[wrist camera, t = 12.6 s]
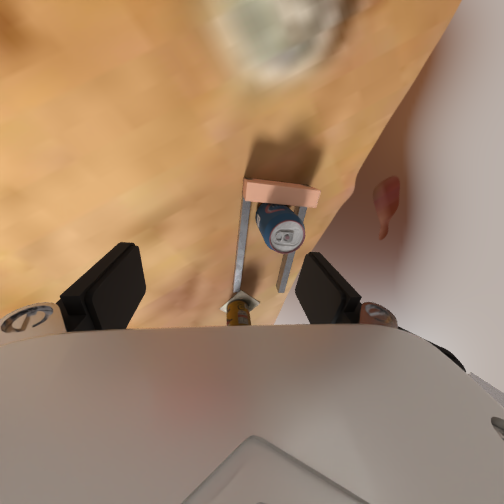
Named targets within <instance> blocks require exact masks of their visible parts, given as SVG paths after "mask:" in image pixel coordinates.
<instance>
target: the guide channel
mask: <svg viewBox="0 0 504 504" xmlns="http://www.w3.org/2000/svg"><path fill="white" fill-rule="evenodd" d="M244 178H245V177H244ZM245 179H248V180H253V179H252V178H245ZM301 185H302V184H301ZM303 186H306V187H311V186H308V185H303ZM242 192H243V190H242ZM250 204H251V201H245V199H244V197H243V194H242V200H241V210H240V220H239V230H238V240H237V250H236V260H235V270H234V280H233V292H240V284H241V276H242V268H243V260H244V252H245V244H246V236H247V228H248V220H249V212H250ZM306 210H307V207H302V206H295V209H294V213H295V214H296V215H297V216H298V217H299V218H300V219H301V220H302V222H303V221H304V217H305V214H306ZM294 254H295V251H294V252H292V253H288V254H284V255H283V259H282V263H281V268H280V272H279V276H278V280H277V284H276V288H277V290H278V293H284V291H285V287H286V284H287V280H288V276H289V273H290V269H291V265H292V262H293V258H294Z"/></svg>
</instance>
